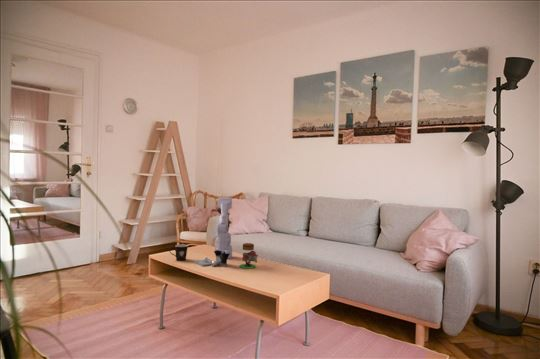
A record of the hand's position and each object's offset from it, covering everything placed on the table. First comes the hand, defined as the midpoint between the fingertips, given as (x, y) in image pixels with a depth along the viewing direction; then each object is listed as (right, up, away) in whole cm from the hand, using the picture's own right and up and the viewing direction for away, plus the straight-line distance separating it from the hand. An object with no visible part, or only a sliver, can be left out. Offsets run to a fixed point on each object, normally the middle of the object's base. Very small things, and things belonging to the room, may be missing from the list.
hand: (221, 262), depth 241 cm
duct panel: (-11, -1, +3) cm, 12 cm away
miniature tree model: (+18, -3, -2) cm, 18 cm away
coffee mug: (-31, -1, +10) cm, 33 cm away
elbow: (-2, -2, -1) cm, 3 cm away
